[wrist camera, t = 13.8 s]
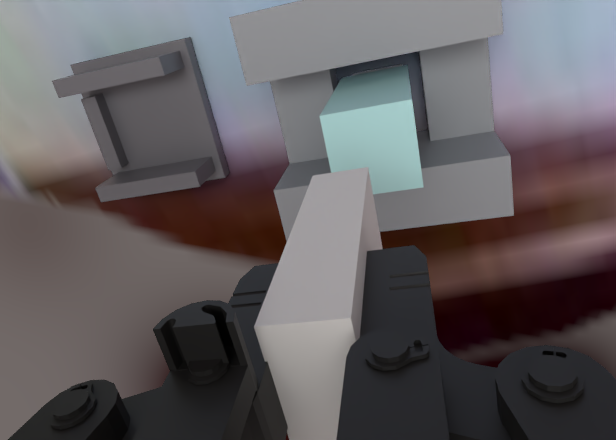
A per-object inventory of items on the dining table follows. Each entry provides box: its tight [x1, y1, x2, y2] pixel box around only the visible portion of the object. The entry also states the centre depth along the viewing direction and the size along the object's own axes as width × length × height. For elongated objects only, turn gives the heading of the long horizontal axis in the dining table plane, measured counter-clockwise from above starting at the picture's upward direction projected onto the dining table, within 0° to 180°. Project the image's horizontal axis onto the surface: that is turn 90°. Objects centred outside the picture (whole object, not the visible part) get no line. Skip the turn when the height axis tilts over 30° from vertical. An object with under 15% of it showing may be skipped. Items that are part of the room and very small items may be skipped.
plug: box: [320, 64, 424, 194], centre depth 25 cm, size 4×4×12 cm
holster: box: [52, 37, 229, 202], centre depth 32 cm, size 8×9×4 cm
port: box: [229, 0, 514, 241], centre depth 28 cm, size 12×12×7 cm
